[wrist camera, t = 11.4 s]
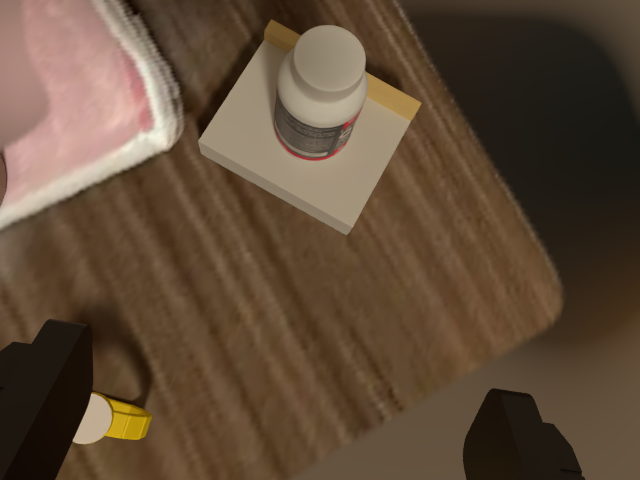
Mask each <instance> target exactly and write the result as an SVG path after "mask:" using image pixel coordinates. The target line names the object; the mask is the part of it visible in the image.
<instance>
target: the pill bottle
mask: <svg viewBox="0 0 640 480" xmlns="http://www.w3.org/2000/svg"><path fill="white" fill-rule="evenodd" d="M365 65H366V57H365V52H364V49H363V47H362V45H361V43H360V42H359V40H358V39H357V38H356V37H355V36H354V35H353V34H352V33H351V32H349V31H347V30H345V29H343V28H341V27H338V26H333V25H322V26H317V27H314V28H312V29H310V30H308V31H306V32H305V33H304V34H303V35H302V36H301V37H300V38H299V39H298V41H297V43H296V45H295V47H294V48H293V49H292V50H291V51H290V52H289V53H288V54H287V55H286V56H285V58H284V59H283V61H282V63H281V65H280V68H279V72H278V77H277V90H276V102H275V111H274V132H275V136H276V139H277V141H278V143H279V144H280V146H281V147H282V148H283V150H284V151H285V152H286V153H287V154H288V155H290V156H291V157H293V158H295V159H297V160H299V161H302V162H307V163H320V162H325V161H328V160H330V159H332V158H333V157H335V156H336V155H338V154H339V153H340V152H341V151H342V150H343V148H344V147H345V145H346V144H347V142H348V140H349V138H350V136H351V133H352V130H353V128H354V126H355V123H356V121H357V119H358V116H359V114H360V112H361V110H362V107H363V105H364V102H365V100H366V96H367V91H368V79H367V74H366V71H365Z"/></svg>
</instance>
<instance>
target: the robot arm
mask: <svg viewBox="0 0 640 480" xmlns="http://www.w3.org/2000/svg"><path fill="white" fill-rule="evenodd" d="M6 180H7V177H6V170H5V164H4V162H3V160H2V157H1V155H0V206H1V204H2V201H3V198H4V195H5V191H6ZM92 387H93V348H92V328H91V326H90V325H88V324H81V323H75V322H68V321H62V320H55V319H49V320H47V321H46V322H45V324H44V325H43V327H42V328H41V330H40V331H39V333H38V335H37V336H36V338H35V339H34V341H33V342H32V344H26V343H20V342H12V343H11V344H10V345H8V346H7V347H5V348H4V349H3V350H1V351H0V480H55V479H56V477H57V474H58V472H59V470H60V468H61V466H62V463H63V461H64V459H65V457H66V455H67V452H68V450H69V448H70V446H71V443H72V441H73V439H74V437H75V435H76V432H77V430H78V428H79V426H80V424H81V421H82V419H83V417H84V415H85V412H86V410H87V407H88V404H89V401H90V397H91V393H92ZM463 463H464V470H465V474H466V479H467V480H585V478H584V477H582V475H581V474H582V471H581V468H580V466H579V463H578V461H577V458H576V456H575V453H574V451H573V448H572V447H571V445H570V444H569V443H568V442H567V440H566V439H565V438H564V437H563V435H562V434H561V433H560V432H559V430H558V429H557V428H556V427H555V426H554V424H550V423H543V422H542V419H541V416H540V414H539V411H538V408H537V406H536V403H535V401H534V399H533V397H532V396H531V395H530V394H527V393H521V392H514V391H508V390H501V389H494V388H493V389H491V390H490V391H489V392H488V393H487V395H486V397H485V399H484V401H483V403H482V405H481V407H480V409H479V411H478V413H477V415H476V417H475V420H474V422H473V423H472V425H471V427H470V430H469V431H468V433H467V436H466V438H465V442H464V448H463Z"/></svg>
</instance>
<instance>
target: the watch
mask: <svg viewBox="0 0 640 480" xmlns="http://www.w3.org/2000/svg"><path fill="white" fill-rule="evenodd" d="M151 418H152V415H151V414H150V413H149V412H148V411H146V410H144V409H142V408H139V407H137V406H134V405H132V404H131V405H130V404H127V403H123V402H120V401H116V400H113V399H109V398H106V397H105V396H104V395H102V394H100V393H97V392H92V393H91V397H90V401H89V404H88V407H87V410H86V412H85V415H84V417H83V419H82V421H81V424H80V426H79V428H78V430H77V432H76V435H75V437H74V439H73V442H75V443H78V444H89V443H93V442H96V441H97V440H99V439H101V438H103V437H104V436H110V437H115V438H122V439H136V440H137V439H141V438H143V437H145V436H146V433H147V430H148V427H149V424H150V421H151Z"/></svg>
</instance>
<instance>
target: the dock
mask: <svg viewBox="0 0 640 480" xmlns="http://www.w3.org/2000/svg"><path fill="white" fill-rule="evenodd" d="M300 37H301V35H299V34H297V33H295V32H294V31H292V30H290V29H288V28H286V27H285V26H283V25H281V24H279V23H277V22H276V21H274V20H272V19H271V21H270V23H269V24H268V26H267V27H266V29H265V31H264V41H263V42H262V44H261V45H260V47H259V48H258V50H257V51H256V53H255V54H254V56H253V57H252V59H251V61H250V62H249V64H248V65H247V67H246V68H245V70H244V71H243V73H242V74H241V76H240V78H239V79H238V81H237V82H236V84H235V85H234V87H233V88H232V90H231V91H230V93H229V94H228V96H227V98H226V99H225V101H224V102H223V104H222V105H221V107H220V108H219V110H218V111H217V113H216V114H215V116H214V118H213V119H212V121H211V122H210V124H209V125H208V127H207V128H206V130H205V131H204V133H203V134H202V136H201V138H200V139H199V141H198V143H199V147H200V151H201V154H202V155H204V156H206V157H207V158H209V159H211V160H213V161H215V162H216V163H218V164H220V165H222V166H223V167H225V168H227V169H229V170H231V171H232V172H234V173H236V174H238V175H240V176H241V177H243V178H245V179H247V180H248V181H250V182H252V183H254V184H256V185H257V186H259V187H261V188H263V189H265V190H266V191H268V192H270V193H272V194H273V195H275V196H277V197H279V198H281V199H282V200H284V201H286V202H288V203H290V204H291V205H293V206H295V207H297V208H298V209H300V210H302V211H304V212H306V213H307V214H309V215H311V216H313V217H315V218H316V219H318V220H320V221H322V222H323V223H325V224H327V225H329V226H331V227H332V228H334V229H336V230H338V231H340V232H341V233H343V234H345V235H347V234H348V233H349V232H350V230H351V229H352V227H353V226H354V224H355V222H356V220H357V218H358V217H359V215H360V213H361V211H362V209H363V207H364V206H365V204H366V202H367V200H368V198H369V197H370V195H371V193H372V191H373V189H374V187H375V186H376V184H377V182H378V180H379V178H380V176H381V175H382V173H383V171H384V169H385V167H386V166H387V164H388V162H389V160H390V158H391V156H392V155H393V153H394V151H395V149H396V147H397V146H398V144H399V142H400V140H401V138H402V136H403V135H404V133H405V131H406V129H407V127H408V126H409V124H410V122H411V120H412V119H413V117H414V116H415V114H416V112H417V110H418V109H419V107H420V105H421V102H419V101H417V100H415V99H414V98H412V97H410V96H408V95H406V94H405V93H403V92H401V91H399V90H397V89H396V88H394V87H392V86H390V85H388V84H387V83H385V82H383V81H381V80H380V79H378V78H376V77H374V76H372V75H371V74H369V73H367V72H366V74H367V79H368V91H367V96H366V100H365V102H364V105H363V107H362V110H361V112H360V114H359V116H358V119H357V121H356V123H355V126H354V128H353V130H352V133H351V136H350V138H349V140H348V142H347V144H346V145H345V147H344V148H343V150H342V151H341V152H340V153H339V154H338V155H336V156H335V157H333V158H332V159H330V160H328V161H325V162H320V163H307V162H302V161H299V160H297V159H295V158H293V157H291V156H290V155H288V154H287V153H286V152H285V151H284V150H283V148H282V147H281V146H280V144H279V143H278V141H277V139H276V136H275V132H274V111H275V102H276V90H277V77H278V72H279V68H280V65H281V63H282V61H283V59H284V58H285V56H286V55H287V54H288V53H289V52H290V51H291V50H292V49H293V48H294V47H295V45H296V43H297V41H298V39H299V38H300Z"/></svg>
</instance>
